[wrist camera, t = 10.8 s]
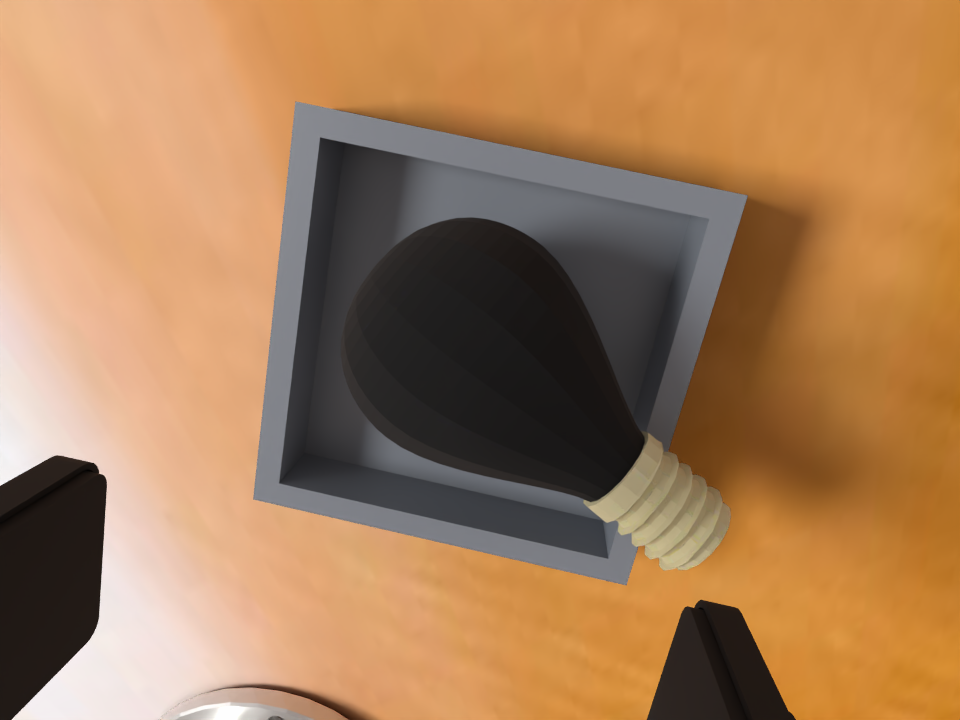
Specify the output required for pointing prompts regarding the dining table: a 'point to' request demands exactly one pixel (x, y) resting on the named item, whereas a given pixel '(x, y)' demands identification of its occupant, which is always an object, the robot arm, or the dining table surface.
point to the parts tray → (539, 214)
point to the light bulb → (515, 384)
